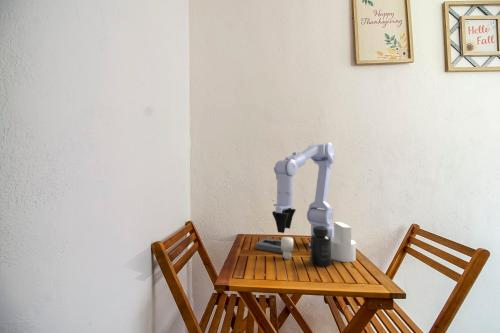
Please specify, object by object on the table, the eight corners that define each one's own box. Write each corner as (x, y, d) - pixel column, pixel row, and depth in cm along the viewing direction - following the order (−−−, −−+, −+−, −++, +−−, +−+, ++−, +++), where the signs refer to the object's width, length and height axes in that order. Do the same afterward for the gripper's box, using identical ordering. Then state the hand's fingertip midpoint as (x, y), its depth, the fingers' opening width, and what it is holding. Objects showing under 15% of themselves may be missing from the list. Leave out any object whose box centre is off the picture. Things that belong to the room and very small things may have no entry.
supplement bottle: (331, 261, 79) (331, 226, 80) (331, 268, 73) (331, 231, 73) (310, 258, 81) (311, 224, 82) (309, 265, 75) (309, 229, 75)
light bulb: (294, 257, 82) (294, 238, 82) (291, 261, 78) (291, 241, 78) (283, 255, 84) (283, 236, 84) (279, 259, 80) (279, 239, 80)
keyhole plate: (291, 246, 94) (291, 241, 94) (283, 253, 85) (283, 248, 85) (265, 242, 100) (265, 237, 100) (255, 248, 91) (255, 243, 91)
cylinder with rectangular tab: (326, 252, 88) (326, 221, 88) (349, 253, 88) (349, 222, 88) (334, 261, 79) (334, 227, 79) (360, 262, 79) (360, 227, 79)
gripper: (280, 191, 91) (279, 225, 90) (267, 193, 77) (266, 233, 77) (297, 192, 88) (297, 227, 87) (287, 194, 74) (286, 235, 74)
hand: (284, 230), depth 82 cm, fingers open, 7 cm apart
